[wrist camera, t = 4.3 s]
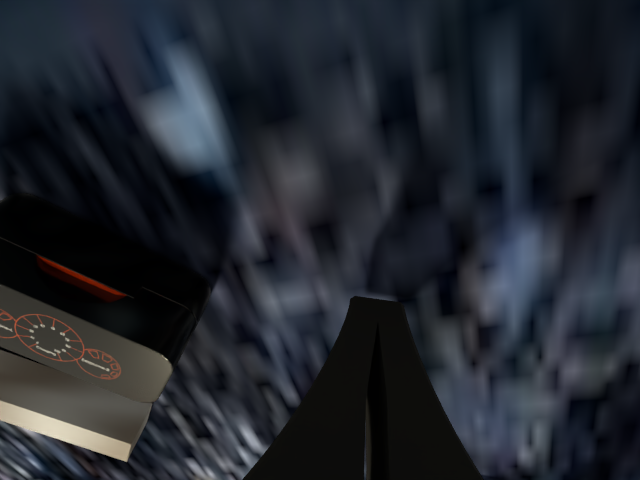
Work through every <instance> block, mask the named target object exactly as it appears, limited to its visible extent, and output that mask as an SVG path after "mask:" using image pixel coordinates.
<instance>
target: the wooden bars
mask: <svg viewBox="0 0 640 480" xmlns="http://www.w3.org/2000/svg"><path fill="white" fill-rule="evenodd" d="M152 404H153V403H142V402H137V401H134V400H131V399H129V398H126V397H124V396H121V395H119V394H116V393H114V392H111V391H109V390H106V389H104V388H101V387H99V386H96V385H94V384H91V383H89V382H87V381H84V380H82V379H79V378H77V377H74V376H72V375H69V374H67V373H64V372H62V371H59V370H56V369H53V368H50V367H48V366H45V365H42V364H39V363H36V362H33V361H31V360H28V359H25V358H22V357H19V356H16V355H13V354H11V353H8V352H5V351H2V350H0V420H1V421H4V422H8V423H11V424H14V425H17V426H20V427H23V428H26V429H29V430H32V431H35V432H38V433H41V434H44V435H47V436H50V437H53V438H56V439H59V440H62V441H65V442H68V443H71V444H74V445H77V446H80V447H83V448H86V449H89V450H92V451H95V452H98V453H101V454H104V455H107V456H110V457H113V458H117V459H120V460H123V461H126V462H127V460H128V458H129V456H130V454H131V453H132V451H133V449H134V447H135V445H136V443H137V441H138V439H139V437H140V435H141V433H142V431H143V429H144V427H145V425H146V423H147V420H148V417H149V414H150V410H151V407H152Z"/></svg>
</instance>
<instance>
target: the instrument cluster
mask: <svg viewBox="0 0 640 480" xmlns="http://www.w3.org/2000/svg"><path fill="white" fill-rule="evenodd" d="M210 294H211V289H210V285H209V283H208V281H207V280H206V279H205V278H204V277H202V276H201V275H199V274H197V273H195V272H193V271H191V270H189V269H187V268H185V267H183V266H181V265H178V264H176V263H174V262H172V261H170V260H168V259H166V258H164V257H162V256H160V255H158V254H155V253H153V252H151V251H149V250H147V249H145V248H143V247H141V246H139V245H137V244H135V243H132V242H130V241H128V240H126V239H124V238H122V237H120V236H118V235H116V234H114V233H112V232H109V231H107V230H105V229H103V228H101V227H99V226H97V225H95V224H93V223H91V222H89V221H86V220H84V219H82V218H80V217H78V216H76V215H74V214H72V213H70V212H68V211H66V210H63V209H61V208H59V207H57V206H55V205H53V204H51V203H49V202H47V201H45V200H43V199H40V198H38V197H36V196H34V195H31V194H27V193H17V194H12V195H10V196H8V197H6V198H4V199H3V200H1V201H0V347H2V348H5V349H7V350H10V351H12V352H15V353H17V354H20V355H22V356H25V357H27V358H30V359H32V360H35V361H37V362H40V363H42V364H44V365H47V366H49V367H52V368H54V369H57V370H59V371H62V372H64V373H67V374H69V375H72V376H74V377H77V378H79V379H82V380H84V381H87V382H89V383H91V384H94V385H96V386H99V387H101V388H104V389H106V390H109V391H111V392H114V393H116V394H119V395H121V396H124V397H126V398H129V399H131V400H134V401H137V402H142V403H152V402H155V401H156V400H157V399H158V398H159V397H160V395H161V393H162V391H163V389H164V388H165V386H166V384H167V382H168V380H169V378H170V377H171V375H172V373H173V371H174V369H175V367H176V365H177V363H178V361H179V359H180V357H181V355H182V353H183V351H184V349H185V347H186V345H187V343H188V341H189V339H190V337H191V336H192V334H193V332H194V330H195V328H196V326H197V324H198V322H199V320H200V318H201V316H202V314H203V312H204V310H205V308H206V306H207V304H208V302H209V298H210Z"/></svg>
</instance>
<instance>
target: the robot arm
mask: <svg viewBox="0 0 640 480" xmlns="http://www.w3.org/2000/svg"><path fill="white" fill-rule="evenodd" d="M365 417H366V460H367V471H366V480H484V479H483V478H482V476H481V475H480V473H479V471H478V470H477V468H476V466H475V465H474V463H473V461H472V460H471V458H470V456H469V455H468V453H467V451H466V450H465V448H464V446H463V444H462V443H461V441H460V439H459V437H458V436H457V434H456V432H455V430H454V428H453V427H452V425H451V423H450V421H449V419H448V417H447V415H446V413H445V411H444V409H443V407H442V405H441V403H440V401H439V399H438V397H437V395H436V393H435V391H434V388H433V386H432V384H431V382H430V380H429V377H428V375H427V373H426V370H425V368H424V365H423V363H422V361H421V358H420V356H419V353H418V351H417V348H416V345H415V342H414V339H413V337H412V334H411V331H410V328H409V324H408V321H407V317H406V314H405V309H404V306H403V305H402V303H401V302H394V301H387V300H380V299H373V298H366V297H358V296H354V297H353V298H351V299H350V305H349V309H348V312H347V315H346V318H345V321H344V324H343V326H342V329H341V331H340V333H339V336H338V338H337V340H336V342H335V344H334V346H333V348H332V350H331V352H330V354H329V356H328V358H327V360H326V362H325V364H324V366H323V367H322V369H321V371H320V373H319V374H318V376H317V378H316V380H315V381H314V383H313V385H312V386H311V388H310V390H309V391H308V393H307V394H306V396H305V398H304V399H303V401H302V402H301V404H300V405H299V407H298V408H297V410H296V411H295V413H294V414H293V416H292V417H291V418H290V420H289V421H288V423H287V424H286V425H285V427H284V428H283V429H282V431H281V432H280V434H279V435H278V436H277V438H276V439H275V440H274V442H273V443H272V444H271V446H270V447H269V448H268V449H267V451H266V452H265V453H264V455H263V456H262V457H261V458H260V459H259V461H258V462H257V463H256V464H255V465H254V467H253V468H252V469H251V470H250V471H249V473H248V474H247V475H246V476H245V477H244V478H243V480H364V448H365Z"/></svg>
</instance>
